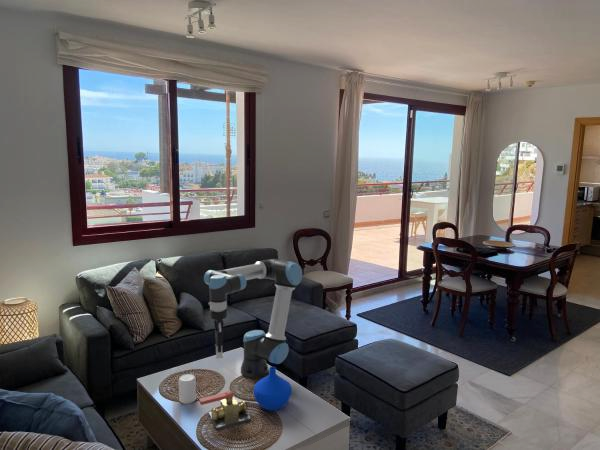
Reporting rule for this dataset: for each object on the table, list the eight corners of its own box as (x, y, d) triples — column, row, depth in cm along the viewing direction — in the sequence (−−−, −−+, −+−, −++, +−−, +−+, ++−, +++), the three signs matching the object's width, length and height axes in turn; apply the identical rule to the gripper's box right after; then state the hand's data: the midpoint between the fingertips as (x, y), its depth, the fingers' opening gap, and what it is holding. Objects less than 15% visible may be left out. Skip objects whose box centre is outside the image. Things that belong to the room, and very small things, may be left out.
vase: (248, 399, 221) (248, 363, 218) (283, 391, 228) (283, 356, 225) (260, 419, 204) (260, 380, 201) (297, 410, 211) (297, 373, 208)
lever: (231, 393, 206) (231, 390, 206) (234, 397, 203) (234, 393, 203) (199, 401, 199) (198, 398, 199) (201, 405, 196) (201, 402, 196)
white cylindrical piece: (191, 405, 215) (191, 382, 213) (176, 403, 216) (175, 380, 214) (198, 396, 223) (198, 374, 221) (183, 394, 224) (183, 372, 222)
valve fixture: (241, 406, 215) (241, 386, 213) (250, 420, 203) (250, 399, 202) (208, 414, 208) (208, 394, 206) (216, 429, 196) (216, 408, 195)
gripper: (208, 305, 209) (209, 352, 213) (211, 314, 196) (212, 364, 200) (224, 303, 211) (225, 350, 215) (228, 313, 199) (229, 362, 202)
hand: (219, 357), depth 207 cm, fingers closed
